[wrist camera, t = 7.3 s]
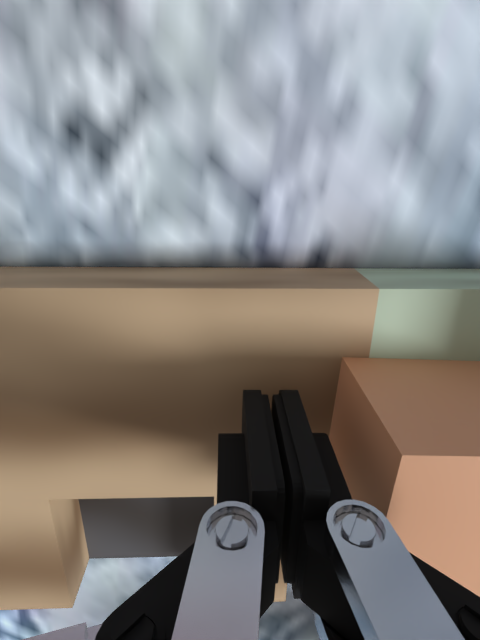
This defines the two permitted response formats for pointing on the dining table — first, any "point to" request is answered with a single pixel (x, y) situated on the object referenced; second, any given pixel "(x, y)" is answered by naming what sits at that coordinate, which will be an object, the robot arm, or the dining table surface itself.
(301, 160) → the dining table surface
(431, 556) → the orange block
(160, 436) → the board
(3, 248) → the dining table surface
